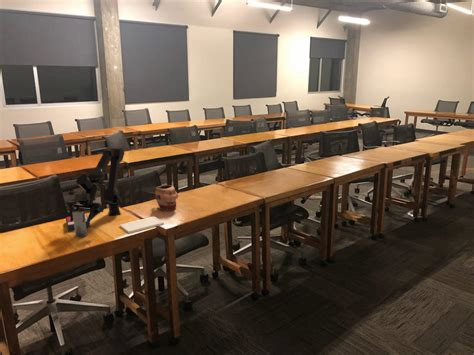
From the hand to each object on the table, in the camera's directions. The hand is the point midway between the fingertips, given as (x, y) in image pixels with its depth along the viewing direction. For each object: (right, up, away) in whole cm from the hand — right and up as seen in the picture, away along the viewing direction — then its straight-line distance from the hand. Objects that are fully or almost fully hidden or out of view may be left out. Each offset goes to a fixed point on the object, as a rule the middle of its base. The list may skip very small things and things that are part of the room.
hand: (79, 221), depth 191 cm
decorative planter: (+36, +3, +42) cm, 55 cm away
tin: (0, -7, +2) cm, 8 cm away
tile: (+28, -4, +15) cm, 32 cm away
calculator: (-8, -4, +17) cm, 19 cm away
